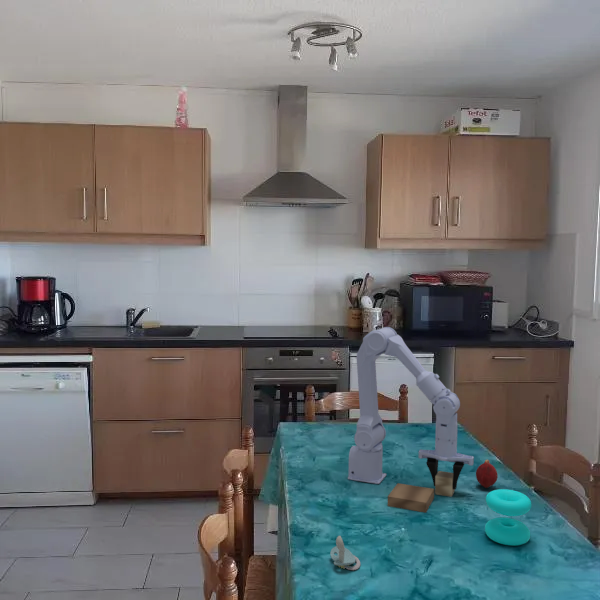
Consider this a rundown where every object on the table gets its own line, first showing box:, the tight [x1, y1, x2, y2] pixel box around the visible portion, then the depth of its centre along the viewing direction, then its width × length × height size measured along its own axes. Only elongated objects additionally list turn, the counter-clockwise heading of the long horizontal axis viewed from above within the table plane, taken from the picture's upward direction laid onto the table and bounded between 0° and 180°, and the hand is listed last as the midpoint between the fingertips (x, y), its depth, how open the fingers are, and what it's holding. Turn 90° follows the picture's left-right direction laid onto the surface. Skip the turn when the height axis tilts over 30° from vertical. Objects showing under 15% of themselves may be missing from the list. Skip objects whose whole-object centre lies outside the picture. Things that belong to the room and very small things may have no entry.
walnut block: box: [387, 483, 435, 513], centre depth 163 cm, size 10×10×3 cm
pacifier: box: [329, 535, 361, 571], centre depth 130 cm, size 7×6×6 cm
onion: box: [475, 459, 499, 489], centre depth 172 cm, size 6×6×8 cm
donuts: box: [484, 488, 532, 546], centre depth 142 cm, size 10×10×10 cm
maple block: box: [434, 470, 456, 498], centre depth 169 cm, size 4×4×5 cm
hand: (445, 486), depth 169 cm, fingers closed on maple block, 4 cm apart
